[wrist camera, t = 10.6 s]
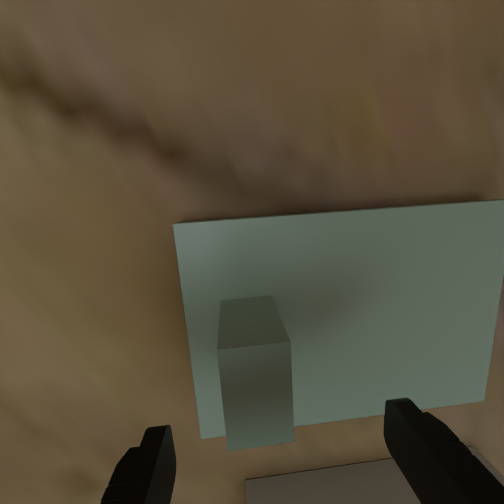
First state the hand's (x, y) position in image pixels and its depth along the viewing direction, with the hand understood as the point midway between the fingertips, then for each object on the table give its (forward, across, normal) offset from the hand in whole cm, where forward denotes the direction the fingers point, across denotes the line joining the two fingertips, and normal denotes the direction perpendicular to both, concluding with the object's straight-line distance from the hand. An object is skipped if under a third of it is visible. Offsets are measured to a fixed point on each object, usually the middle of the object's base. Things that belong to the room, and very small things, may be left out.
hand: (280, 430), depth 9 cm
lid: (+9, -6, 0) cm, 11 cm away
